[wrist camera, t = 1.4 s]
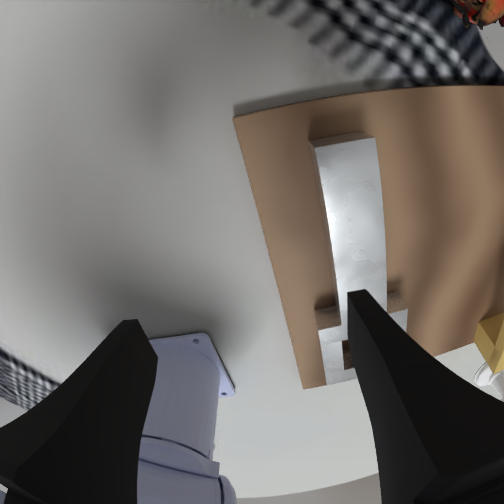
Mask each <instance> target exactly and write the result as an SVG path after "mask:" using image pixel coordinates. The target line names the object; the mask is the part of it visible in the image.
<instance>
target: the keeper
mask: <svg viewBox="0 0 504 504" xmlns="http://www.w3.org/2000/svg"><path fill="white" fill-rule="evenodd" d="M473 341H474V342H475V344H476V346H477V347H478V349H479V351H480V352H481V354H482V356H483V357H484V359H485V361H486V362H487V364H488V366H489V368H490V369H491V371H492V373H493V374H496V373H498V372H500V371H502V370H504V314H503V313H501V314H498V315H495V316H493V317H490V318H488V319H485V320H483V321H480V322H478V326H477V330H476V333H475V337H474V340H473Z"/></svg>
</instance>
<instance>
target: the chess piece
mask: <svg viewBox="0 0 504 504" xmlns="http://www.w3.org/2000/svg"><path fill="white" fill-rule="evenodd" d="M474 380H475V382H476V383H477V385H479V386H486V385H493V386H494V388H495V389H496V390H497V392H498V393H499V395H500V396H501V397H502V399H503V400H504V370H502V371H500V372H498V373H496V374H493V373H492V371H491V369H490V368H489V366H488V364H487V362H486V363H484V364H483V365H482V366H481V368H480V369H479V370H478V371H477V373H476V375H475V378H474Z"/></svg>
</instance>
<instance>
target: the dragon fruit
mask: <svg viewBox="0 0 504 504" xmlns="http://www.w3.org/2000/svg"><path fill="white" fill-rule="evenodd" d="M450 1H451V2H452V3H453V5H454V13H455V15H456V16H458V17H460V18H462V20H463V23H464V25H465V28H467V27H468V26H469V25H470V24H471V23H474V24H476V25H477V26H479V28H481V29H482V30H483V26H487V25H489V24H492V23H496V22H497V20H499V23H500V25H501V27H504V0H450ZM481 29H480V30H481Z"/></svg>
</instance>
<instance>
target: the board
mask: <svg viewBox="0 0 504 504" xmlns="http://www.w3.org/2000/svg"><path fill="white" fill-rule="evenodd" d="M233 122H234V126H235V130H236V133H237V137H238V140H239V144H240V148H241V151H242V155H243V159H244V162H245V166H246V170H247V173H248V177H249V181H250V184H251V188H252V192H253V195H254V199H255V203H256V207H257V210H258V214H259V218H260V222H261V225H262V229H263V233H264V237H265V241H266V244H267V248H268V252H269V256H270V260H271V263H272V267H273V271H274V275H275V279H276V283H277V287H278V291H279V294H280V298H281V302H282V306H283V310H284V314H285V318H286V322H287V326H288V330H289V334H290V338H291V342H292V346H293V350H294V354H295V358H296V362H297V366H298V370H299V374H300V378H301V382H302V386H303V389H308V388H314V387H319V386H324V385H327V383H326V378H325V373H324V367H323V361H322V355H321V349H320V343H319V337H318V331H317V325H316V319H315V313H314V310H318V309H322V308H327V307H331V306H336V304H335V296H334V288H333V281H332V274H331V267H330V260H329V253H328V246H327V240H326V234H325V228H324V222H323V216H322V210H321V204H320V199H319V193H318V188H317V182H316V177H315V172H314V167H313V162H312V157H311V152H310V147H309V142H308V141H309V140H314V139H320V138H325V137H330V136H336V135H341V134H347V133H353V132H359V131H363V132H365V133H367V134H369V135H371V136H373V137H375V140H376V147H377V154H378V162H379V170H380V179H381V189H382V200H383V212H384V226H385V243H386V271H387V293H391V292H395V291H398V292H399V294H400V296H401V297H402V299H403V301H404V303H405V305H406V306H407V308H408V314H407V327H406V333H407V334H408V335H409V336H410V337H411V338H413V339H414V340H415V341H416V342H417V343H418V344H419V345H420V346H421V347H422V348H423V349H425V350H426V351H427V352H428V353H429V354H430V355H432V356H433V357H434V356H437V355H440V354H443V353H446V352H449V351H452V350H454V349H457V348H460V347H463V346H465V345H468V344H471V343H473V342H474V341H473V340H474V337H475V333H476V330H477V326H478V322H480V321H483V320H485V319H488V318H490V317H493V316H495V315H498V314H501V313H503V314H504V85H437V86H419V87H406V88H394V89H384V90H375V91H367V92H359V93H352V94H345V95H338V96H332V97H325V98H319V99H314V100H308V101H303V102H298V103H293V104H288V105H283V106H278V107H273V108H269V109H265V110H260V111H256V112H252V113H248V114H244V115H240V116H236V117H233ZM349 348H350V347H349V341H348V339H347V340H343V341H342V350H345V349H349Z"/></svg>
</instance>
